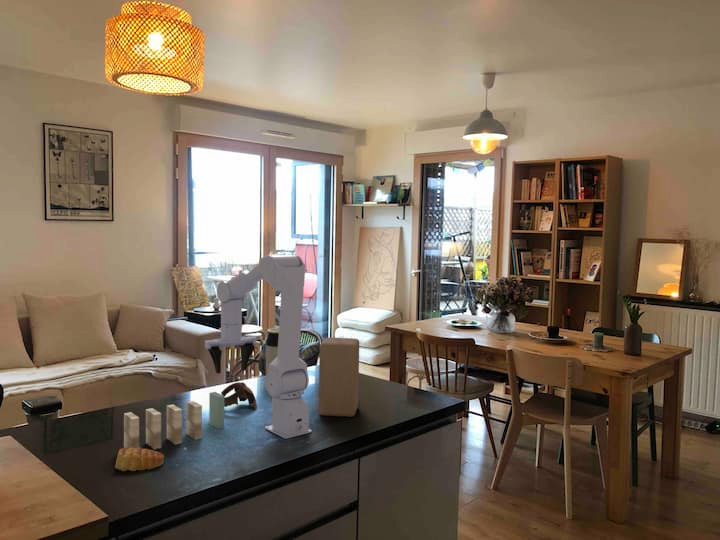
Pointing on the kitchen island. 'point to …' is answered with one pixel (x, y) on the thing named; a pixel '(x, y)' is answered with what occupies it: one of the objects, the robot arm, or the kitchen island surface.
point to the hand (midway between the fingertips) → (231, 371)
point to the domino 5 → (216, 409)
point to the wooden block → (338, 377)
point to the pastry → (138, 459)
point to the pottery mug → (238, 394)
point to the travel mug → (271, 346)
